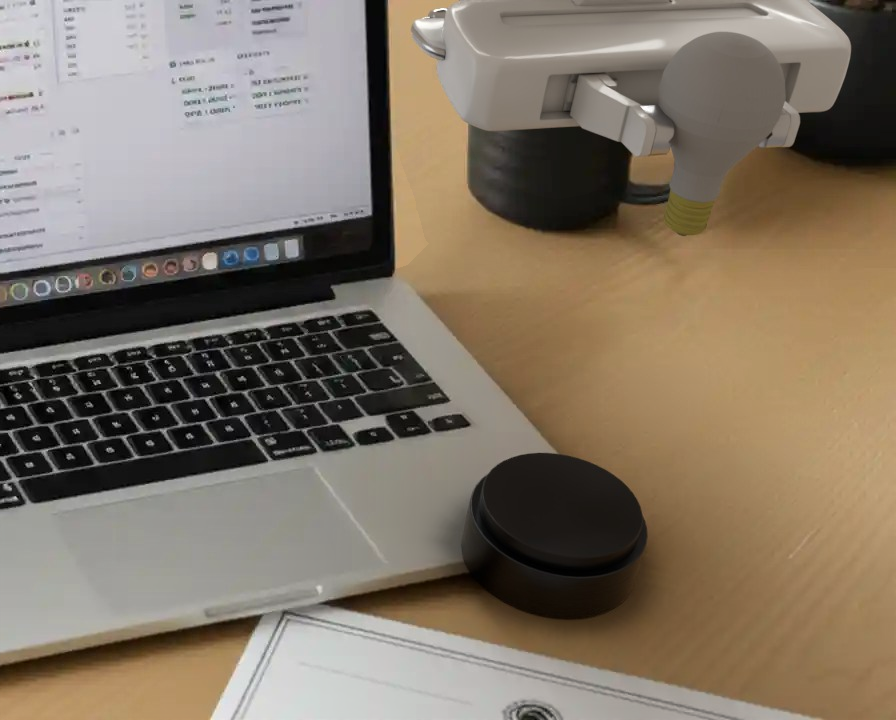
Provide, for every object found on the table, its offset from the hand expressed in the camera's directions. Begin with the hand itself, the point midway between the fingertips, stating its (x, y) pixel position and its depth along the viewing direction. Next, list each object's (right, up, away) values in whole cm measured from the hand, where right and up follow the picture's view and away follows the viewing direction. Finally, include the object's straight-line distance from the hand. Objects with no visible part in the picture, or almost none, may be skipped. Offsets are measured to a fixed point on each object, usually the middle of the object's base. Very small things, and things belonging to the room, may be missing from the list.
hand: (722, 138), depth 74 cm
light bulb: (-1, -4, +4) cm, 6 cm away
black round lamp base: (-8, -19, +1) cm, 21 cm away
